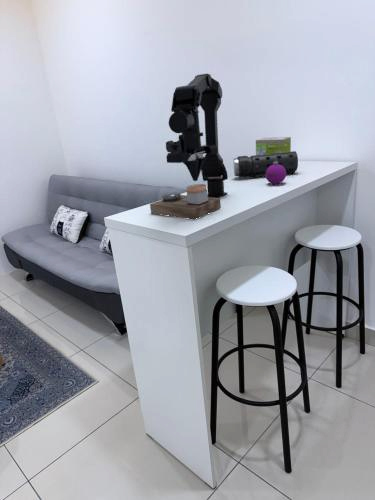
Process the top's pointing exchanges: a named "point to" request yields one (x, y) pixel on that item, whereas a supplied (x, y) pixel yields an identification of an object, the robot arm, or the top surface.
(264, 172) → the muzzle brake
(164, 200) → the charcoal plunger
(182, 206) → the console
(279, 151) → the tea box
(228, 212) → the top surface
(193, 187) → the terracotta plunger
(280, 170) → the christmas ornament
